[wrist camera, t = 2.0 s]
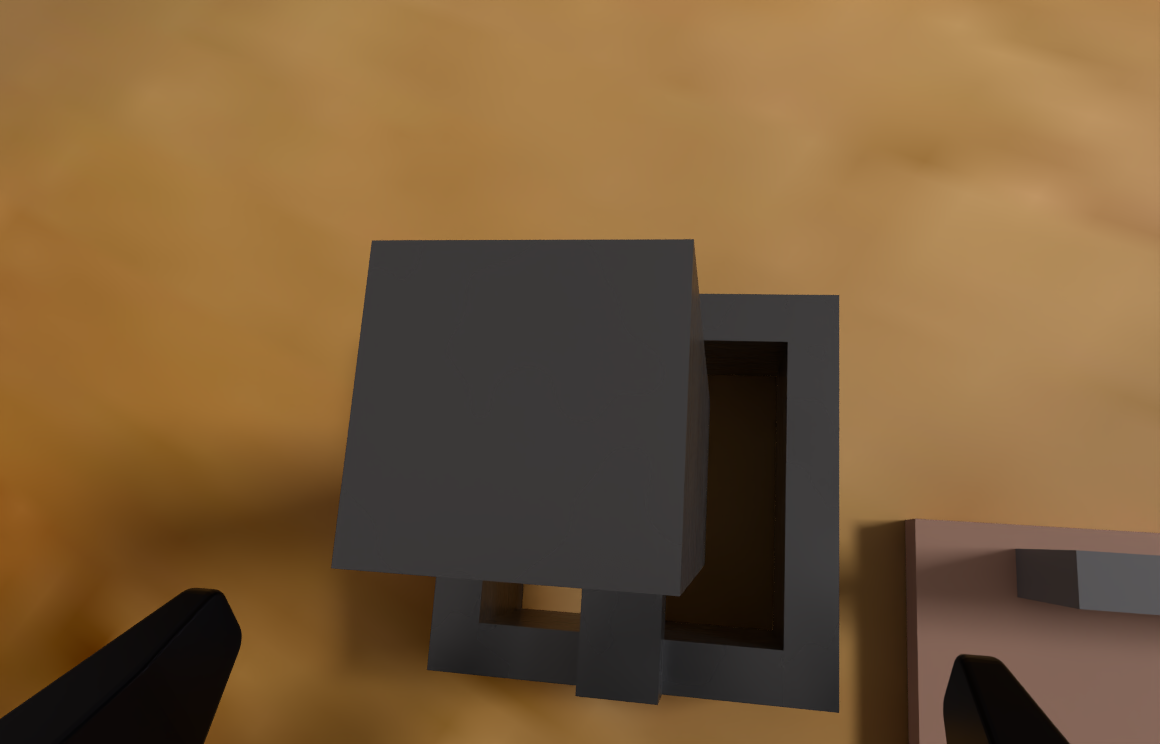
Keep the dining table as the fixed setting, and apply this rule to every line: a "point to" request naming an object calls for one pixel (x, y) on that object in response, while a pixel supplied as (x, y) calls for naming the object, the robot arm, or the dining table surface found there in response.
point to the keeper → (1038, 622)
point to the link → (587, 463)
